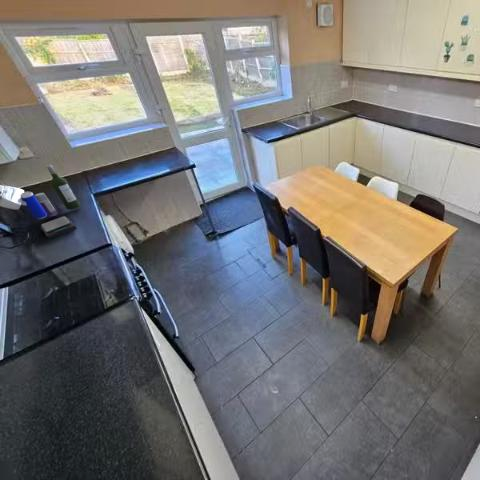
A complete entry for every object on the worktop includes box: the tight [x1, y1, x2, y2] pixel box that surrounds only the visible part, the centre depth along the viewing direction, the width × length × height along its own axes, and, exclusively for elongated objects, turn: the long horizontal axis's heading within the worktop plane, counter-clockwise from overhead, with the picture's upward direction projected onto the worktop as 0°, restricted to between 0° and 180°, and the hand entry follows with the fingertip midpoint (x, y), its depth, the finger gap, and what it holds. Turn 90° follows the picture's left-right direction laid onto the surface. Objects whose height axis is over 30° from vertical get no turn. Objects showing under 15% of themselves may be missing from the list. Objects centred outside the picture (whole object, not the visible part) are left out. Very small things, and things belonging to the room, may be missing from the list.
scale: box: [40, 216, 78, 239], centre depth 169 cm, size 14×16×3 cm
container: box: [34, 192, 58, 217], centre depth 178 cm, size 5×5×15 cm
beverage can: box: [20, 191, 48, 220], centre depth 148 cm, size 5×5×15 cm
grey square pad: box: [40, 215, 71, 233], centre depth 168 cm, size 12×12×1 cm
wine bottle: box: [45, 164, 81, 210], centre depth 181 cm, size 8×8×30 cm
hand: (33, 203), depth 149 cm, fingers closed on beverage can, 3 cm apart
